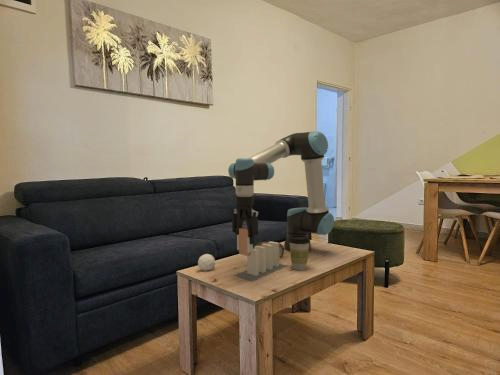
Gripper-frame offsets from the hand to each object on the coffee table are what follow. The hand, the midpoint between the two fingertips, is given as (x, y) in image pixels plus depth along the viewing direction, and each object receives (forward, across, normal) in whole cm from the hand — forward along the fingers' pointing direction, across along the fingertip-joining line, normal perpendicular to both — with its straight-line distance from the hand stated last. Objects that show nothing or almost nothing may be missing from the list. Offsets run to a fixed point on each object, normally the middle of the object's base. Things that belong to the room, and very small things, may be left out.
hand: (245, 250), depth 141 cm
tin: (+13, -10, +30) cm, 34 cm away
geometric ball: (+13, -21, -3) cm, 25 cm away
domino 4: (+12, 0, +15) cm, 19 cm away
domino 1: (+2, 0, 0) cm, 2 cm away
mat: (+12, 0, +11) cm, 17 cm away
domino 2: (+12, 0, +5) cm, 13 cm away
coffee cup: (+12, +11, +25) cm, 30 cm away
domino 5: (+11, 0, +20) cm, 23 cm away
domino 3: (+12, 0, +10) cm, 15 cm away
